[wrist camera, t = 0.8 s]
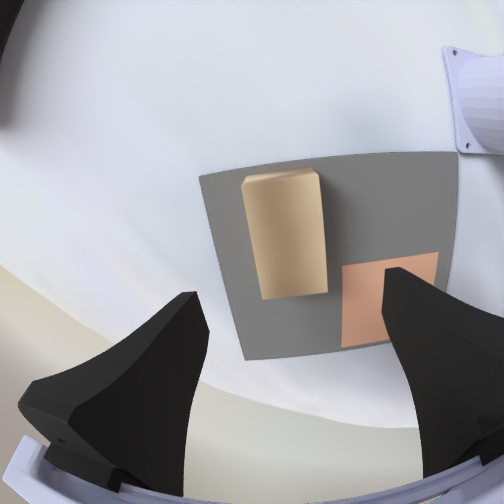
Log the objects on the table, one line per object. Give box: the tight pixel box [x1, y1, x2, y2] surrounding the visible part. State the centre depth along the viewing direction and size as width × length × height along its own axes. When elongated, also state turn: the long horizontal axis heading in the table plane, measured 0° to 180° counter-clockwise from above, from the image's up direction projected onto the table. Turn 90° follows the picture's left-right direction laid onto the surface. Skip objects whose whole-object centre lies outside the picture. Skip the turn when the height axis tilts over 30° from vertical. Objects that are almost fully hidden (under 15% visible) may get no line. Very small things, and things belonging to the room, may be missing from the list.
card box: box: [241, 167, 328, 300], centre depth 17 cm, size 4×7×3 cm, turn 10°
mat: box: [199, 152, 458, 361], centre depth 19 cm, size 18×16×1 cm
